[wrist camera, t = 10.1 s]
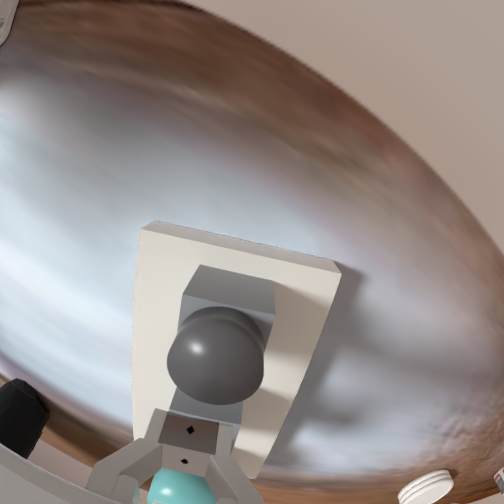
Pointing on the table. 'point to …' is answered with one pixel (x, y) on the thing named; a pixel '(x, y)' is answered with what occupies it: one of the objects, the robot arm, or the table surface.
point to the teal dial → (179, 489)
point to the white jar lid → (427, 488)
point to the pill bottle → (500, 479)
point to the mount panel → (235, 297)
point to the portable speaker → (20, 417)
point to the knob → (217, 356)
